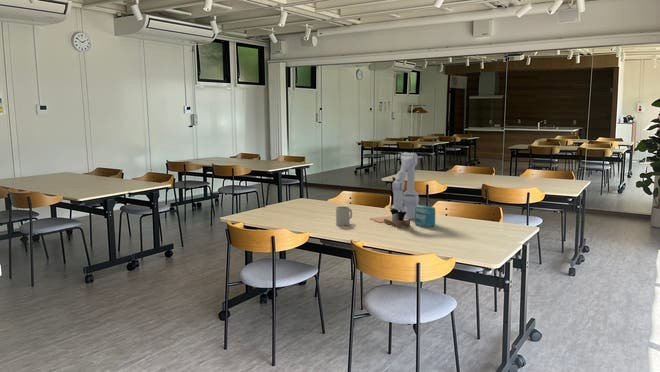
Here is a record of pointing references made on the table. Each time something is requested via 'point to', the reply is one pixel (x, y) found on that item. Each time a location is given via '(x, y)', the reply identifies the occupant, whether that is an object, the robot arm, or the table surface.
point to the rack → (397, 223)
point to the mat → (381, 219)
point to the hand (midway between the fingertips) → (398, 221)
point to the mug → (343, 215)
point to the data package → (425, 216)
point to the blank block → (395, 217)
